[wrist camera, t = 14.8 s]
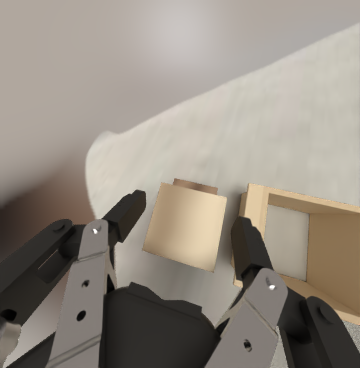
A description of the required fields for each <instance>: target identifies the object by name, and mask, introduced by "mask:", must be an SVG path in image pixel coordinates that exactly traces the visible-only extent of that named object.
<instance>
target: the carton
mask: <svg viewBox="0 0 360 368" xmlns="http://www.w3.org/2000/svg"><path fill="white" fill-rule="evenodd" d="M268 204H271V205H275V206H280V207H284V208H288V209H293V210H297V211H301V212H305V213H310V218H309V238H308V257H307V276H306V282H305V281H301V280H298V279H294V278H291V277H288V276H284V275H281V274H278V273H277V274H278V275H279V276H280V277H281V278H282V279H283V281H284V282H285V284H286V286H287V287H289V288H290V289H292V290H294V291H295V292H297V293H299V294H300V295H302V296H303V297H305V298H308V297H310V296H315V297H318V298H320V299H322V300H323V301H325V302H326V303H327V304H329V305H330V306H331V307H332V308H333V309H334V310H335V312H336V313H337V314H338V315H339V317H340V318H341V320H344V321H348V322H351V323H354V324H357V325H360V207H358V206H353V205H349V204H344V203H339V202H335V201H330V200H326V199H321V198H316V197H312V196H307V195H302V194H298V193H293V192H288V191H284V190H279V189H275V188H270V187H265V186H261V185H256V184H251V183H249V184H248V188H247V192H246V193H243V194H242V196H241V202H240V209H239V215H238V216H243V217H247V218H250V219H251V223H252V226H255V227H256V228H257V229H258V230H259V232H260V233H261V235H262V238H263V239H264V231H265V222H266V214H267V205H268ZM231 265H232V267H233V268H234V269H235V266H234V257H233V253H232V259H231ZM233 284H234V285H236V286H239V287H243V284H242V281H239V280H236V274H234V281H233Z"/></svg>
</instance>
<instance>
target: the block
mask: <svg viewBox="0 0 360 368" xmlns="http://www.w3.org/2000/svg"><path fill="white" fill-rule="evenodd" d="M226 201H227V197H222V196H218V195H214V194H209V193H205V192H201V191H196V190H192V189H188V188H184V187H179V186H175V185H171V184H166V183H162V182H161V186H160V189H159V193H158V196H157V200H156V203H155V207H154V210H153V214H152V217H151V221H150V224H149V228H148V231H147V235H146V238H145V242H144V245H143V249H142V250H143V251H146V252H149V253H152V254H155V255H159V256H162V257H165V258H168V259H171V260H175V261H178V262H181V263H184V264H187V265H191V266H194V267H197V268H200V269H203V270H207V271H210V272H213V273H214V268H215V263H216V257H217V252H218V246H219V240H220V235H221V229H222V224H223V218H224V213H225V207H226Z"/></svg>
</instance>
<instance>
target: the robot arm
mask: <svg viewBox="0 0 360 368" xmlns="http://www.w3.org/2000/svg"><path fill="white" fill-rule="evenodd" d="M145 208H146V193H145V191H141V190H135V191H134V192H133V193H132V194H128V195H126V196H124V197H123V198H122V199H121V200H120V201H119V202H118V203H117V204H116V205H115V206H114V207H113V208H112V209H111V210H110V211H109V212H108V213H107V214H106V215H105V216H104V217H103V218H102V219H98V220H94V221H92V222H90V223H89V224H87V225H74V224H73V223H72V221H71V220H69V219H62V220H59V221H55V222H53V223H52V224H50V225H49V226H47V227H46V228H45V229H43V230H42V231H41V232H40V233H39V234H37V235H36V236H34V237H33V238H32V239H31V240H29V241H28V242H27V243H25V244H24V245H23V246H22V247H20V248H19V249H18V250H17V251H15V252H14V253H13V254H11V255H10V256H9V257H8V258H6V259H5V260H4V261H2V262H1V263H0V368H2V367H3V364H4V362H5V360H6V358H7V356H8V355H10V354H11V353H12V352H13V351H14V349H15V348H16V346H17V344H18V339H19V336H20V333H21V327H22V326H23V324H24V323H25V322H26V321H27V320H28V318H29V317H30V316H31V315H32V313H33V312H34V311H35V310H36V308H37V307H38V306H39V305H40V304H41V303H42V301H43V300H44V299H45V298H46V297H47V295H48V294H49V293H50V292H51V291H52V289H53V288H54V287H55V286H56V284H57V283H58V282H59V281H60V280H61V278H62V277H63V276H64V275H65V274H66V272H67V271H68V270H69V269H70V273H69V277H68V281H67V286H66V290H65V294H64V299H63V304H62V307H61V312H60V316H59V321H58V325H57V329H56V331H55V332H54V333H53V334H51V335H50V336H48V337H47V338H46V339H44V340H43V341H42V342H40V343H39V344H38V345H36V346H35V347H34V348H32V349H31V350H29V351H28V352H27V353H25V354H24V355H22V356H21V357H20V358H18V359H17V360H16V361H14V362H13V363H12V364H10V365H9V366H7V367H6V368H269V367H270V364H271V361H272V358H273V355H274V352H275V349H276V346H277V343H278V334H277V333H276V331H275V329H276V325H277V326H279V330H280V335H281V339H282V343H283V347H284V351H285V355H286V360H287V364H288V368H360V353H359V351H358V349H357V347H356V345H355V344H354V342H353V340H352V338H351V336H350V334H349V333H348V331H347V329H346V327H345V325H344V323H343V322H342V320H341V318H340V317H339V315H338V314H337V313H336V312H335V310H334V309H333V308H332V307H331V306H330V305H329V304H327V303H326V302H325V301H323V300H322V299H320V298H318V297H315V296H310V297H308V298H305V297H303V296H302V295H300V294H299V293H297V292H295V291H294V290H292V289H290V288H289V287H287V286H286V284H285V282H284V281H283V279H282V278H281V277H280V276H279V275H278V274H277V273H276V272H274V270H273V267H272V264H271V261H270V259H269V256H268V253H267V250H266V247H265V244H264V241H263V238H262V235H261V233H260V232H259V230H258V229H257V228H256V227H255V226H252V223H251V219H250V218H247V217H243V216H238V218H237V220H236V222H235V223H234V225H233V227H232V230H231V240H232V248H233V257H234V266H235V274H236V280H239V281H242V284H243V287H242V288H241V290H240V291H239V293H238V294H237V296H236V297H235V299H234V300H233V302H232V303H231V305H230V306H229V308H228V309H227V311H226V312H225V314H224V315H223V316H222V317H221V318H220V320H219V321H218V323H217V324H216V326H215V327H214V326H213V324H212V323H211V322H210V320H209V319H208V318H207V317H206V316H205V315H204V314H203V313H201V311H202V307H201V306H198V305H195V304H192V303H189V302H187V301H184V300H163V299H161V298H160V297H159V296H157V295H156V294H155V293H154V292H152V291H151V290H150V289H149V288H147V287H145V286H142V285H139V284H136V283H134V282H131V283H130V285H129V286H126V287H121V288H118V289H117V278H116V270H115V245H116V243H117V242H121V243H123V242H124V240H125V239H126V237H127V236H128V234H129V233H130V231H131V230H132V228H133V227H134V225H135V224H136V222H137V221H138V219H139V218H140V216H141V215H142V213H143V212H144V210H145ZM56 250H57V251H56ZM55 251H56V252H55ZM54 252H55V253H54ZM53 253H54V254H53ZM51 254H53V255H52V256H51ZM50 256H51V257H50ZM49 257H50V258H49ZM48 258H49V259H48ZM47 259H48V260H47ZM46 260H47V261H46ZM76 260H77V261H76ZM45 261H46V262H45ZM44 262H45V263H44ZM43 263H44V264H43ZM41 264H43V265H42V266H41ZM40 266H41V267H40ZM39 267H40V268H39ZM38 268H39V269H38Z"/></svg>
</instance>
